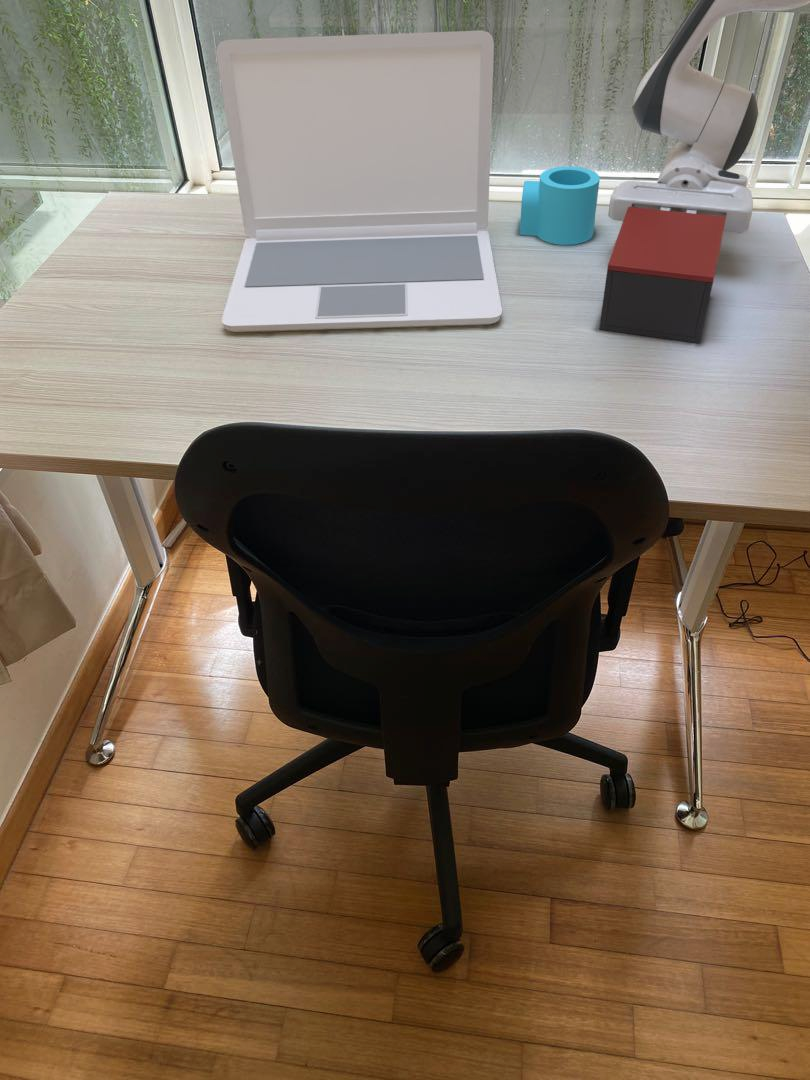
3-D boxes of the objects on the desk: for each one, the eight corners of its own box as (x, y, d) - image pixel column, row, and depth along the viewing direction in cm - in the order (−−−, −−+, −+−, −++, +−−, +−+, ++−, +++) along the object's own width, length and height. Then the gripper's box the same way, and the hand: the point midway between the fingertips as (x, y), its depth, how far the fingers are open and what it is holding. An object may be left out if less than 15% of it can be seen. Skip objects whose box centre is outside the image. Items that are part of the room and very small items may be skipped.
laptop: (221, 337, 124) (176, 104, 103) (248, 243, 146) (215, 37, 126) (502, 328, 123) (514, 92, 102) (486, 235, 146) (493, 26, 125)
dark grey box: (615, 285, 132) (623, 228, 126) (708, 297, 128) (721, 239, 122) (599, 329, 122) (607, 270, 116) (699, 343, 119) (712, 283, 113)
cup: (517, 242, 144) (520, 186, 137) (523, 218, 150) (527, 164, 144) (591, 246, 142) (598, 190, 135) (594, 222, 148) (601, 167, 142)
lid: (627, 211, 126) (628, 206, 126) (725, 221, 123) (726, 216, 122) (607, 269, 116) (607, 264, 116) (712, 282, 113) (714, 277, 112)
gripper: (618, 164, 134) (603, 199, 125) (758, 176, 129) (753, 214, 119) (613, 205, 138) (597, 242, 129) (748, 218, 133) (742, 258, 123)
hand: (673, 228), depth 124 cm, fingers closed, pressing on lid
